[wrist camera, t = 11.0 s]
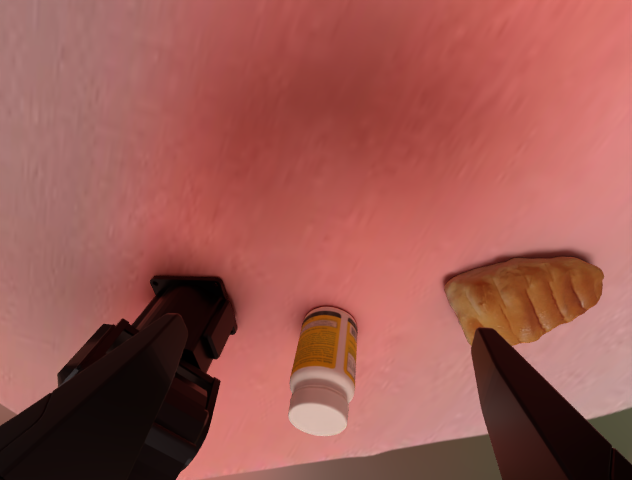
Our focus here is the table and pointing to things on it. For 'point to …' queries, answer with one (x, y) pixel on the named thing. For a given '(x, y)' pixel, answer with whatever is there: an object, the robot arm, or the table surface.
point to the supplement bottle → (324, 372)
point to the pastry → (524, 296)
